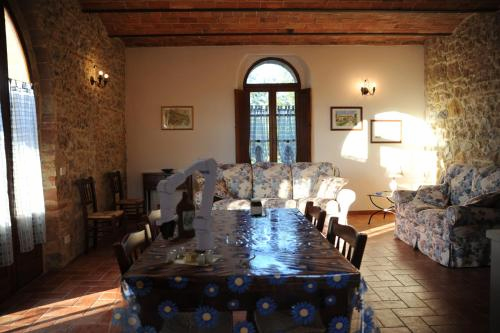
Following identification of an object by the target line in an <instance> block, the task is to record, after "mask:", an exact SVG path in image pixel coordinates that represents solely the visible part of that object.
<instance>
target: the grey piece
mask: <svg viewBox="0 0 500 333" xmlns="http://www.w3.org/2000/svg"><path fill="white" fill-rule="evenodd" d="M186 253H187V252H186V247H185V246H179V247H178V249H176V248H175V249H174V248H173V249H170V250H169V251H167V252H166V259H167V260H166V261H167V262H168V264H174V263H173V262H175V260H177V256H178V255H179V257H180V258H183V257H186ZM213 255H214V249H210V250H205V252H204V253H198V265H197V266H200V265H205V264H209V265H211V264H213V262H212V260H213ZM167 262H166V263H167Z"/></svg>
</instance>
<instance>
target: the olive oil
mask: <svg viewBox="0 0 500 333" xmlns="http://www.w3.org/2000/svg"><path fill="white" fill-rule="evenodd" d="M181 192H182V194H181V199H180V200H179V201H178V203H177V204H176V206H175V215H178V219H176V221H178V223H177V225H176V228H177V237H178V238H180V237H182V238H183V239H188V237H189V238H194V237H196V232H195V229H194V228H193V225H192V224H193V220H194V218H195V215H196V205H195V203H194V202H193V201H192V200H191V199H190V197H189V191H188V190H183V191H181ZM193 236H194V237H193Z"/></svg>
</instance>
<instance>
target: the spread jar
mask: <svg viewBox="0 0 500 333" xmlns="http://www.w3.org/2000/svg"><path fill="white" fill-rule="evenodd" d="M249 213H250V216H251V217H261V216H262V215H263V214H264V216H268V210H267V208H266V206H265V205H263V203H262V199H261V198H257V197H255V198H251V201H250V204H249Z"/></svg>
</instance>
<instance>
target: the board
mask: <svg viewBox="0 0 500 333" xmlns="http://www.w3.org/2000/svg"><path fill="white" fill-rule="evenodd" d="M195 253H196V261H195V262H186V257H183V258H180V257H179V254H177V260H175V262H173V263H172V264H179V265H189V266H191V265H192V266H202V267H208V266H209V265H210V264H205V265H198V254H199V253H197V252H195ZM223 256H224V255H223V254H222V255H220V254H213V260H212V263H214V262H216V261H217V260H219V259H220V258H221V257H223ZM165 263H168V262H167V260H166V261H165ZM168 264H169V263H168Z"/></svg>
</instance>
